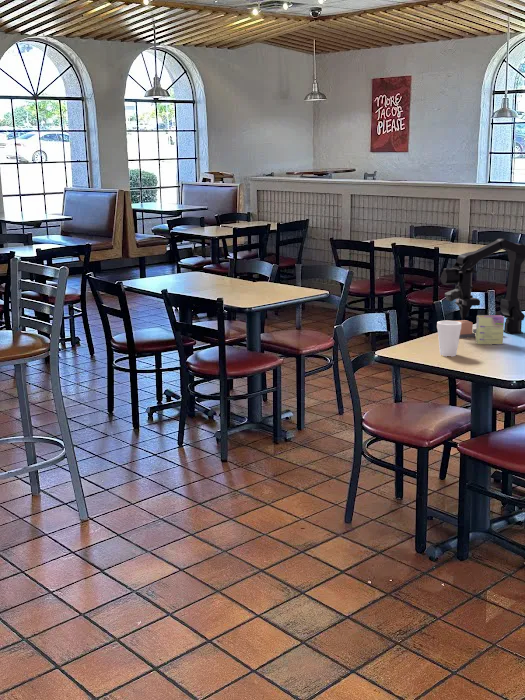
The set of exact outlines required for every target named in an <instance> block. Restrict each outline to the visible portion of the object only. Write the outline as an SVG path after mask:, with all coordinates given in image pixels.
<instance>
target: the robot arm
mask: <svg viewBox="0 0 525 700" xmlns="http://www.w3.org/2000/svg"><path fill="white" fill-rule="evenodd" d="M501 250H503V251H505V252H507V258H508V261H509V269H508V279H507V286H506V295H505V297H504V298H503V299H502V298H501V299H500V304H499V305H500V306H499V308H500V312H501V313H502V314H503V315H502V316H503V317H504V319H505V321H504V329H503V333H504V332H505V333H506V334H509V335H516V334H524V331H522V323H523V321H524V320H525V314H524V313H523V312H522V310H521V303H520V300H519V290H520V281H521V280H520V279H521V270H522V264H523V263H524V262H525V244H522V243H515V242H512V241H510V240H507V239H506V238H497V239H496V240H495V241H492V242H490V243H488V244H487V245H485V246H482V247H479V248H478V249H476V250H473V251H468V252H464V253H461V254H459V255H458V256H457V258H456V261H455V263H454V264H453V266H452V267H451V268H443V271H442V273H441V275H440V283H441V284H442V285H455V287H454V289H451V290H449V291H447V292H445V293H444V297H445V299H446V301H449V302H454V301H455V302H454V304H455V305H456V306H457V307H458V309H459V314H460V317H461V320H465V319H466V317H467V316H468V314H469V312H470V310H471V309H472V307H474V306H480V305H481V300H480V299H479V298H477V297H473V296H474V295H472V289H474V286H473V285H472V281H473V279H472V278H473V274H476V273H477V272H478V271H477V270H475V268H474V266H476V265H477V264H478V263H479V262H480V261H481V260H483V259H484V258H487V257H489V256H491V255H492V254H494V253H495V254H496V253H497V252H499V251H501Z"/></svg>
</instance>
